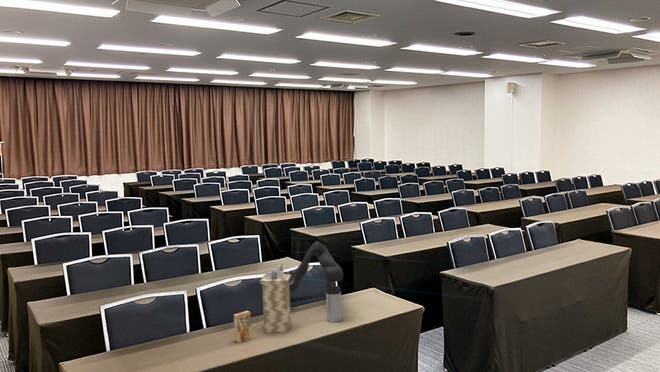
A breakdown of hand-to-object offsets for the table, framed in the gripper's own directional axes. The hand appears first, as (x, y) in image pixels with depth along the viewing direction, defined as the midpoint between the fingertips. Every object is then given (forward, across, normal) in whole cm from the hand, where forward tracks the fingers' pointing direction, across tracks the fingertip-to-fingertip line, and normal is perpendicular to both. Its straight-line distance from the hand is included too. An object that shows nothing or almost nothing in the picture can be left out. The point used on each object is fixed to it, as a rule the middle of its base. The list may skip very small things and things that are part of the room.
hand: (283, 272), depth 322 cm
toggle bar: (+17, -1, +6) cm, 18 cm away
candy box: (+21, -17, +45) cm, 52 cm away
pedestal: (+7, 0, +36) cm, 37 cm away
